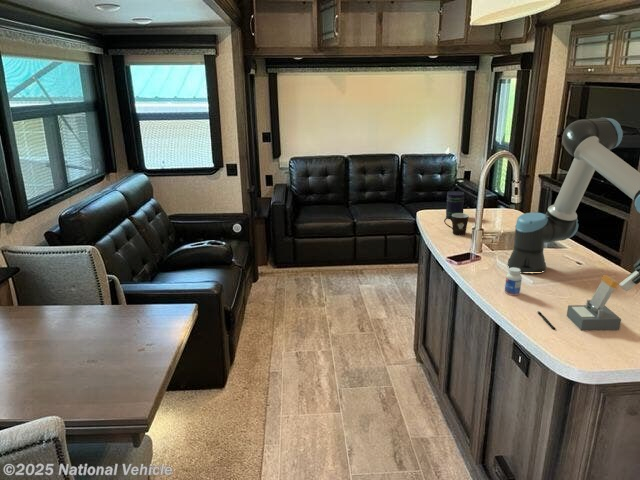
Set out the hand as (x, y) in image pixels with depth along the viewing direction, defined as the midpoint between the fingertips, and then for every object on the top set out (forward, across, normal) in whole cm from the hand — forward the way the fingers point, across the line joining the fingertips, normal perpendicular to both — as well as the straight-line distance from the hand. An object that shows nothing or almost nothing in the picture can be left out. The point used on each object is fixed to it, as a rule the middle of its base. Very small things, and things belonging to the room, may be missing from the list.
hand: (622, 287), depth 151 cm
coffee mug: (+29, +99, +11) cm, 104 cm away
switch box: (+14, 0, -4) cm, 15 cm away
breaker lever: (+11, 0, 0) cm, 11 cm away
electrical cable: (+25, +2, +6) cm, 26 cm away
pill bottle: (+27, +24, +9) cm, 37 cm away
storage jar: (+25, +128, +7) cm, 131 cm away
